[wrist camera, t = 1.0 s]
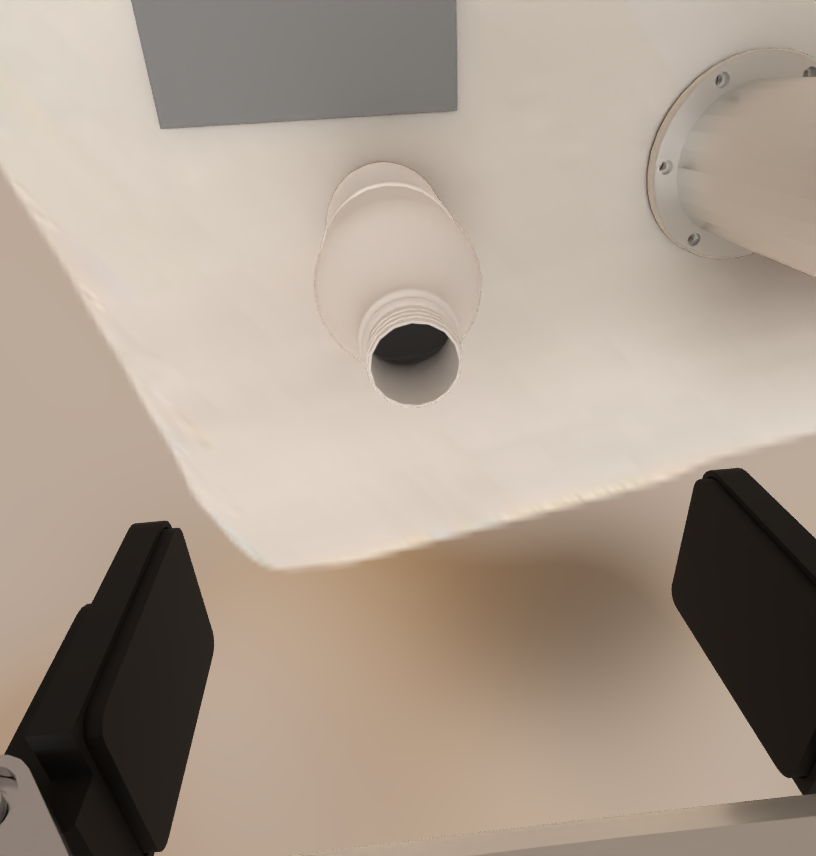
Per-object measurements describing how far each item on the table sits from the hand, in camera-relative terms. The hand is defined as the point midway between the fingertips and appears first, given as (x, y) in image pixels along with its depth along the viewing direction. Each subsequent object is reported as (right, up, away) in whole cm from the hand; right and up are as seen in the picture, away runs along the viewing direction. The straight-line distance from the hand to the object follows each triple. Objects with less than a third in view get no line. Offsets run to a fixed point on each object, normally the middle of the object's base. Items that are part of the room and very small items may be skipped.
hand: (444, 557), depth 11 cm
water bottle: (-2, +17, +29) cm, 34 cm away
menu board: (-7, +26, +23) cm, 36 cm away
